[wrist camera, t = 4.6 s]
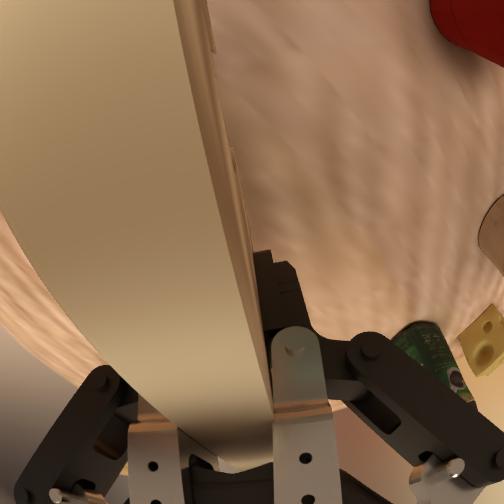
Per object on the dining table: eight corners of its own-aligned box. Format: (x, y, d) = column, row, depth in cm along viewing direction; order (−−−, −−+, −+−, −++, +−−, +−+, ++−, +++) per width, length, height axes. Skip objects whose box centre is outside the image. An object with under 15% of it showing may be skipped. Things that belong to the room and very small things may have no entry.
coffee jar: (378, 350, 40) (416, 456, 26) (411, 317, 36) (462, 431, 21) (413, 351, 43) (449, 440, 29) (443, 322, 39) (488, 415, 24)
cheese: (492, 302, 39) (517, 342, 31) (501, 312, 43) (522, 347, 35) (454, 337, 44) (475, 378, 36) (468, 343, 48) (486, 378, 40)
